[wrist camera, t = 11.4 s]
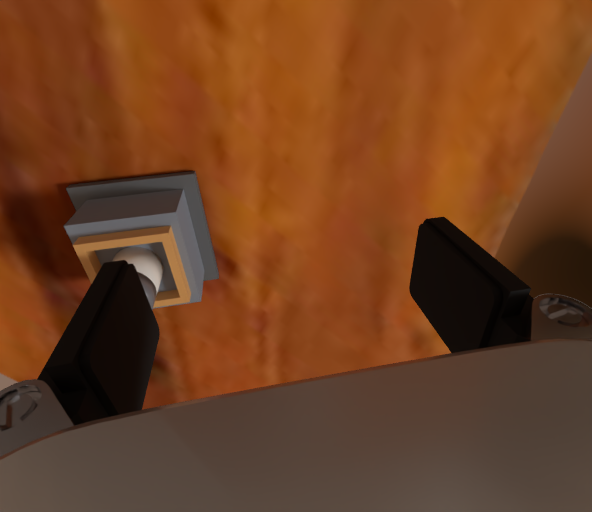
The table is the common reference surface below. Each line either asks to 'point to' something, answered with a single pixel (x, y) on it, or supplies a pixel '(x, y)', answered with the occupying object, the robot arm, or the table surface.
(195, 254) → the grey square peg holder
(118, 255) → the gray and white capsule
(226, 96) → the table surface
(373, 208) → the table surface
